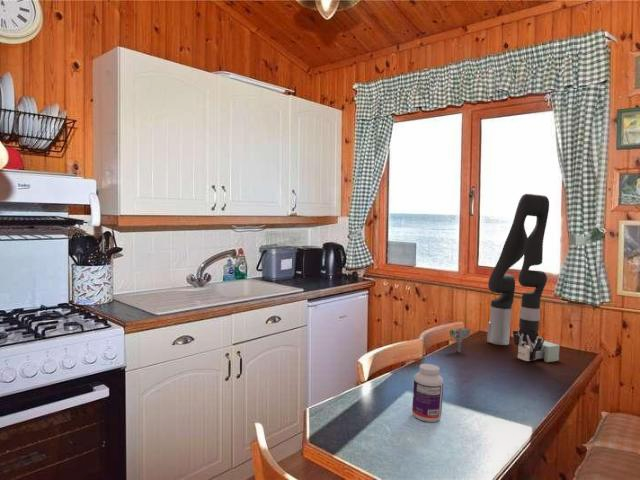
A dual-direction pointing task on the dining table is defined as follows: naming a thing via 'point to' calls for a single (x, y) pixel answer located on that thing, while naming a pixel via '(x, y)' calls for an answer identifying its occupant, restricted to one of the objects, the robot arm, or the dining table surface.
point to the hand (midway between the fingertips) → (526, 358)
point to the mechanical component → (459, 336)
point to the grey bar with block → (525, 353)
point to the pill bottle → (427, 393)
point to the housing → (550, 351)
